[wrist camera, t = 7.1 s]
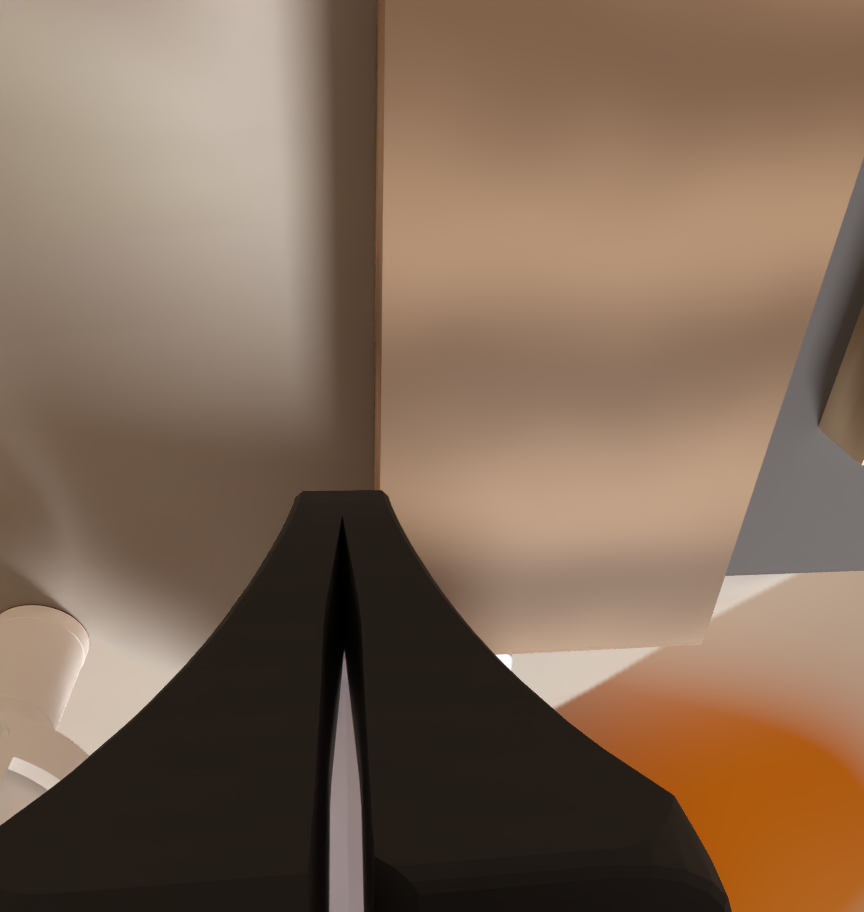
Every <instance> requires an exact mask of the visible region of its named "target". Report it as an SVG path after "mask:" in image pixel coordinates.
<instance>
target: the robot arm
mask: <svg viewBox="0 0 864 912" xmlns="http://www.w3.org/2000/svg"><path fill="white" fill-rule="evenodd" d="M344 650H345V652H344ZM512 662H513V659H512V654H502V655H495V654H494V653H493V652H492V651H491V650H490V649H489V647H488V646H487V645H486V644H485V643H484V642H483V641H482V640H481V639H480V638H479V637H478V635H477V634H476V633H475V632H474V631H473V630H472V628H471V627H470V626H469V625H468V624H467V623H466V621H465V620H464V619H463V618H462V616H461V615H460V614H459V613H458V611H457V610H456V609H455V608H454V606H453V605H452V604H451V602H450V601H449V600H448V598H447V597H446V596H445V594H444V593H443V592H442V590H441V589H440V587H439V586H438V585H437V583H436V582H435V580H434V579H433V578H432V576H431V575H430V573H429V571H428V570H427V568H426V567H425V565H424V564H423V562H422V561H421V559H420V558H419V556H418V554H417V553H416V551H415V550H414V548H413V546H412V545H411V543H410V541H409V539H408V538H407V536H406V534H405V532H404V530H403V528H402V527H401V525H400V523H399V521H398V519H397V516H396V514H395V512H394V510H393V507H392V505H391V502H390V500H389V496H388V495H387V494H385V493H384V492H383V491H382V490H356V491H303V492H302V493H300V494H299V495H298V496H297V497H296V498H295V501H294V504H293V506H292V509H291V511H290V513H289V516H288V518H287V520H286V522H285V524H284V526H283V528H282V530H281V532H280V534H279V536H278V537H277V539H276V541H275V543H274V545H273V547H272V548H271V550H270V551H269V553H268V555H267V556H266V558H265V560H264V561H263V563H262V565H261V566H260V568H259V570H258V571H257V573H256V574H255V576H254V577H253V579H252V580H251V582H250V583H249V585H248V586H247V588H246V589H245V590H244V592H243V593H242V595H241V596H240V597H239V599H238V600H237V602H236V603H235V604H234V606H233V607H232V609H231V610H230V611H229V613H228V614H227V616H226V617H225V618H224V620H223V621H222V622H221V623H220V625H219V626H218V627H217V628H216V630H215V631H214V632H213V634H212V635H211V636H210V637H209V638H208V640H207V641H206V642H205V643H204V644H203V646H202V647H201V648H200V649H199V650H198V651H197V652H196V654H195V655H194V656H193V657H192V658H191V659H190V660H189V662H188V663H187V664H186V665H185V666H184V667H183V668H182V669H181V670H180V671H179V672H178V673H177V674H176V676H175V677H174V678H173V679H172V680H171V681H170V682H169V683H168V684H167V685H166V686H165V687H164V688H163V689H162V690H161V691H160V692H159V693H158V694H157V695H156V696H155V697H154V698H153V699H152V700H151V701H150V702H149V703H148V704H147V705H146V706H145V707H144V708H143V709H142V710H141V711H140V712H139V713H138V714H137V715H136V716H135V717H134V718H133V719H132V720H130V721H129V722H128V723H127V724H126V725H125V726H124V727H123V728H121V729H120V730H119V731H118V732H117V733H116V734H114V735H113V736H112V737H111V738H110V739H109V740H108V741H106V742H105V743H104V744H103V745H102V746H101V747H100V748H98V749H97V750H96V751H95V752H94V753H93V754H91V755H90V756H89V757H88V758H87V759H86V760H85V761H83V762H82V763H81V764H80V765H79V766H78V767H76V768H75V769H74V770H73V771H72V772H71V773H69V774H68V775H67V776H66V777H64V778H63V779H62V780H61V781H59V782H58V783H57V784H56V785H54V786H53V787H52V788H50V789H49V790H48V791H46V792H45V793H44V794H42V795H41V796H39V797H38V798H37V799H35V800H34V801H33V802H31V803H30V804H29V805H27V806H26V807H25V808H23V809H22V810H20V811H19V812H18V813H16V814H15V815H14V816H12V817H11V818H10V819H8V820H7V821H6V822H4V823H3V824H2V825H0V912H732V911H731V908H730V903H729V899H728V896H727V894H726V892H725V889H724V887H723V885H722V883H721V880H720V878H719V876H718V873H717V871H716V869H715V867H714V865H713V862H712V860H711V858H710V856H709V854H708V853H707V851H706V849H705V847H704V846H703V844H702V842H701V840H700V839H699V837H698V836H697V834H696V832H695V830H694V828H693V827H692V825H691V823H690V822H689V820H688V818H687V816H686V815H685V813H684V811H683V810H682V808H681V806H680V805H679V803H678V801H677V799H676V798H675V796H674V795H672V794H671V793H669V792H668V791H666V790H665V789H663V788H662V787H660V786H659V785H657V784H656V783H654V782H653V781H651V780H650V779H648V778H647V777H645V776H644V775H642V774H641V773H639V772H638V771H636V770H635V769H633V768H632V767H630V766H629V765H627V764H626V763H624V762H623V761H621V760H619V759H618V758H616V757H615V756H614V755H612V754H610V753H609V752H607V751H606V750H604V749H603V748H602V747H600V746H599V745H598V744H596V743H595V742H594V741H592V740H591V739H590V738H588V737H587V736H586V735H585V734H583V733H582V732H581V731H579V730H578V729H577V728H575V727H574V726H573V725H571V724H570V723H569V722H567V721H566V720H565V719H564V718H563V717H562V716H561V715H560V714H559V713H557V712H556V711H555V710H554V709H553V708H552V707H551V706H549V705H548V704H547V703H546V702H545V701H544V700H543V699H541V698H540V697H539V696H538V695H537V694H536V693H535V692H533V691H532V690H531V689H530V688H529V687H528V686H527V685H525V684H524V683H523V682H522V681H521V680H520V679H519V678H518V677H517V676H516V675H515V674H514V673H513V672H512V671H511V669H512Z"/></svg>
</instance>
